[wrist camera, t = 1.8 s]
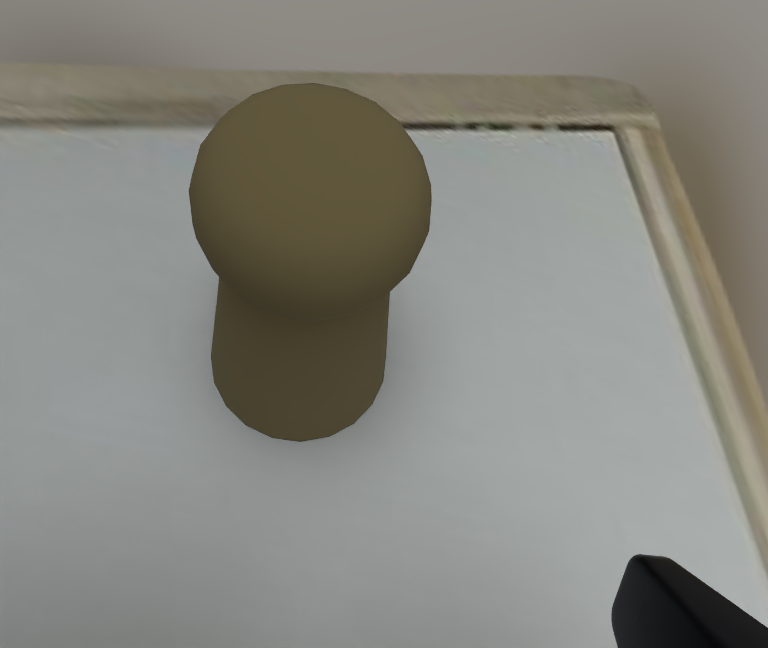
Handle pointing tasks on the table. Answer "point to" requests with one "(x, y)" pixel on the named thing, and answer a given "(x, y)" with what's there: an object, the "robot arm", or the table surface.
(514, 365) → the table surface
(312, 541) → the table surface
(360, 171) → the olive pawn figure
